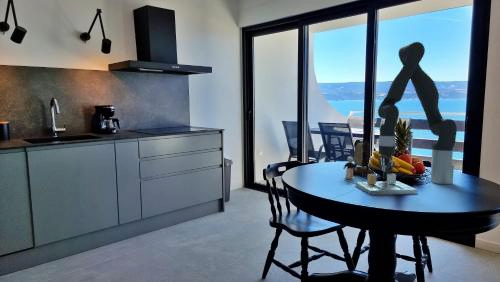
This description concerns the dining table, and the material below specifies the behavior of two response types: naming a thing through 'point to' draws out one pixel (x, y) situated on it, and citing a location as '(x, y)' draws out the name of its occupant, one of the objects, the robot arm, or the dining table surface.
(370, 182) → the fader
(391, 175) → the fader
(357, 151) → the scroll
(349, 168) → the grandmother figurine
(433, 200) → the dining table surface
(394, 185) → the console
